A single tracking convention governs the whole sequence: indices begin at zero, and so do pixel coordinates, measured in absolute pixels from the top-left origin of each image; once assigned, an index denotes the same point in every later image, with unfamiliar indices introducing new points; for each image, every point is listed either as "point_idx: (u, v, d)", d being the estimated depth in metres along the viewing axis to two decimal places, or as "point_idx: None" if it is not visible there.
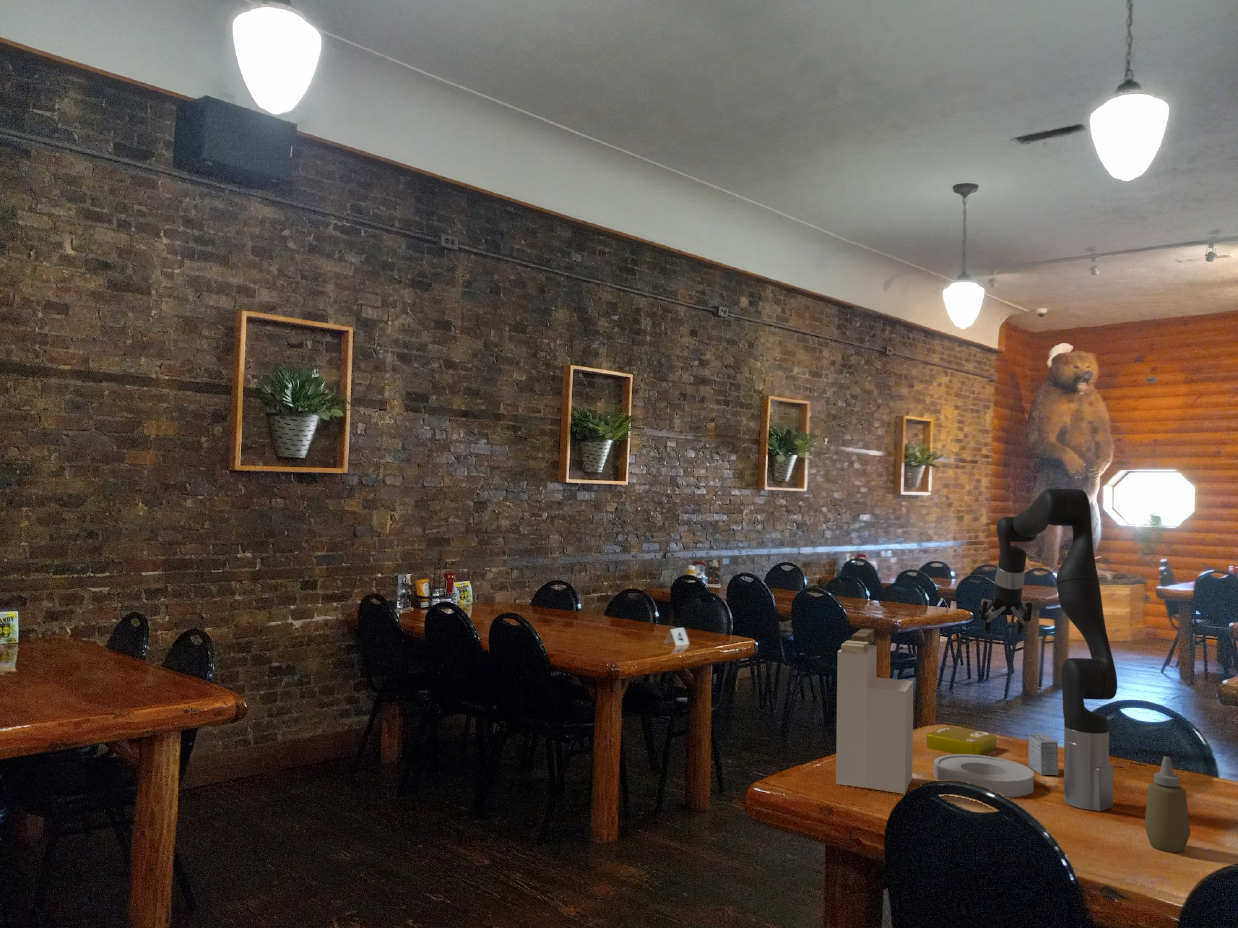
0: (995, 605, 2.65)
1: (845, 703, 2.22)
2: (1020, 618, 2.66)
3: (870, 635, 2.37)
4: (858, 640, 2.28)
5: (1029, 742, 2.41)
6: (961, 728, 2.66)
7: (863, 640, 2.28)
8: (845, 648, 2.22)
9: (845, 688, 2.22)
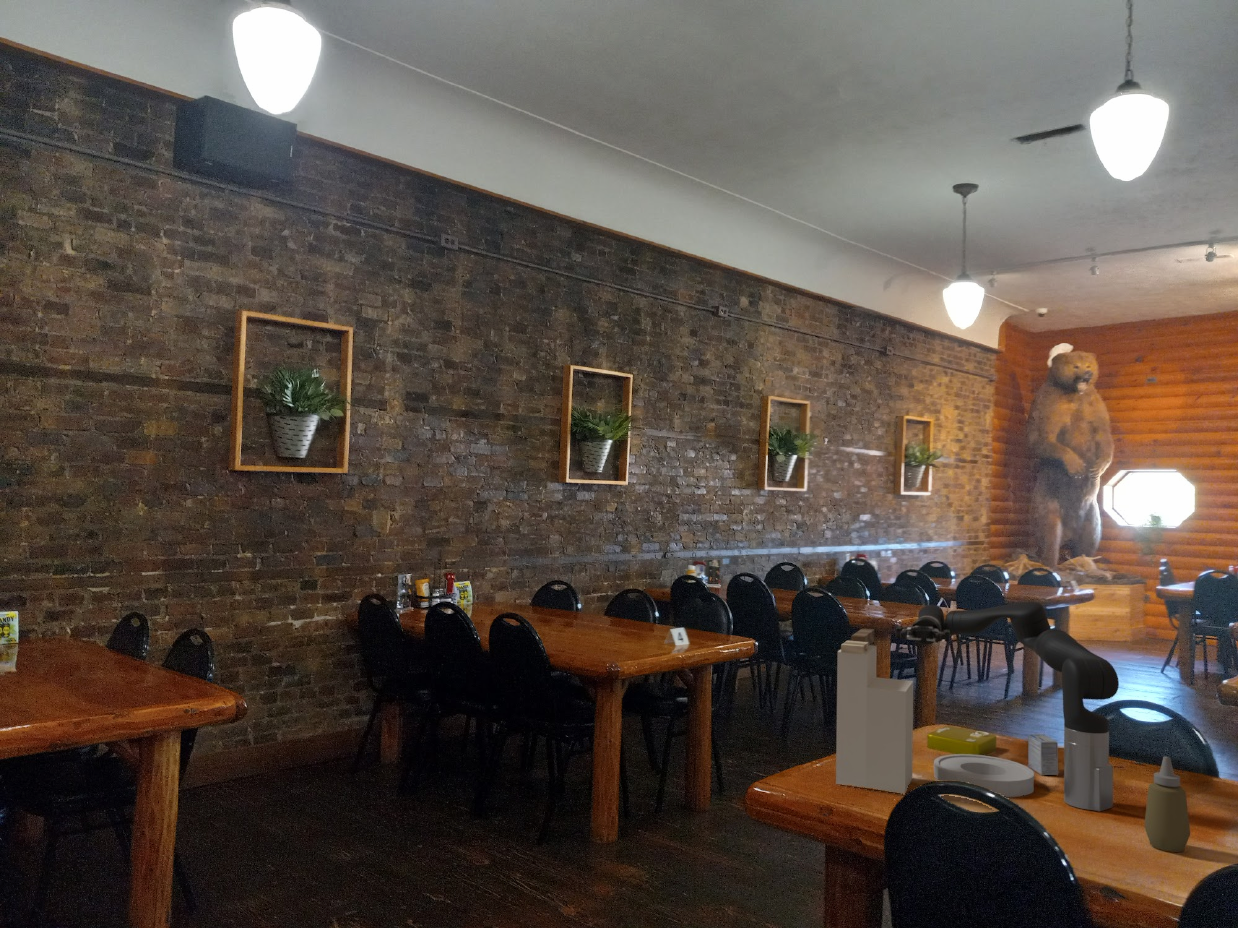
0: None
1: (845, 703, 2.22)
2: (906, 637, 2.56)
3: (870, 635, 2.37)
4: (858, 640, 2.28)
5: (1029, 742, 2.41)
6: (961, 728, 2.66)
7: (863, 640, 2.28)
8: (845, 648, 2.22)
9: (845, 688, 2.22)
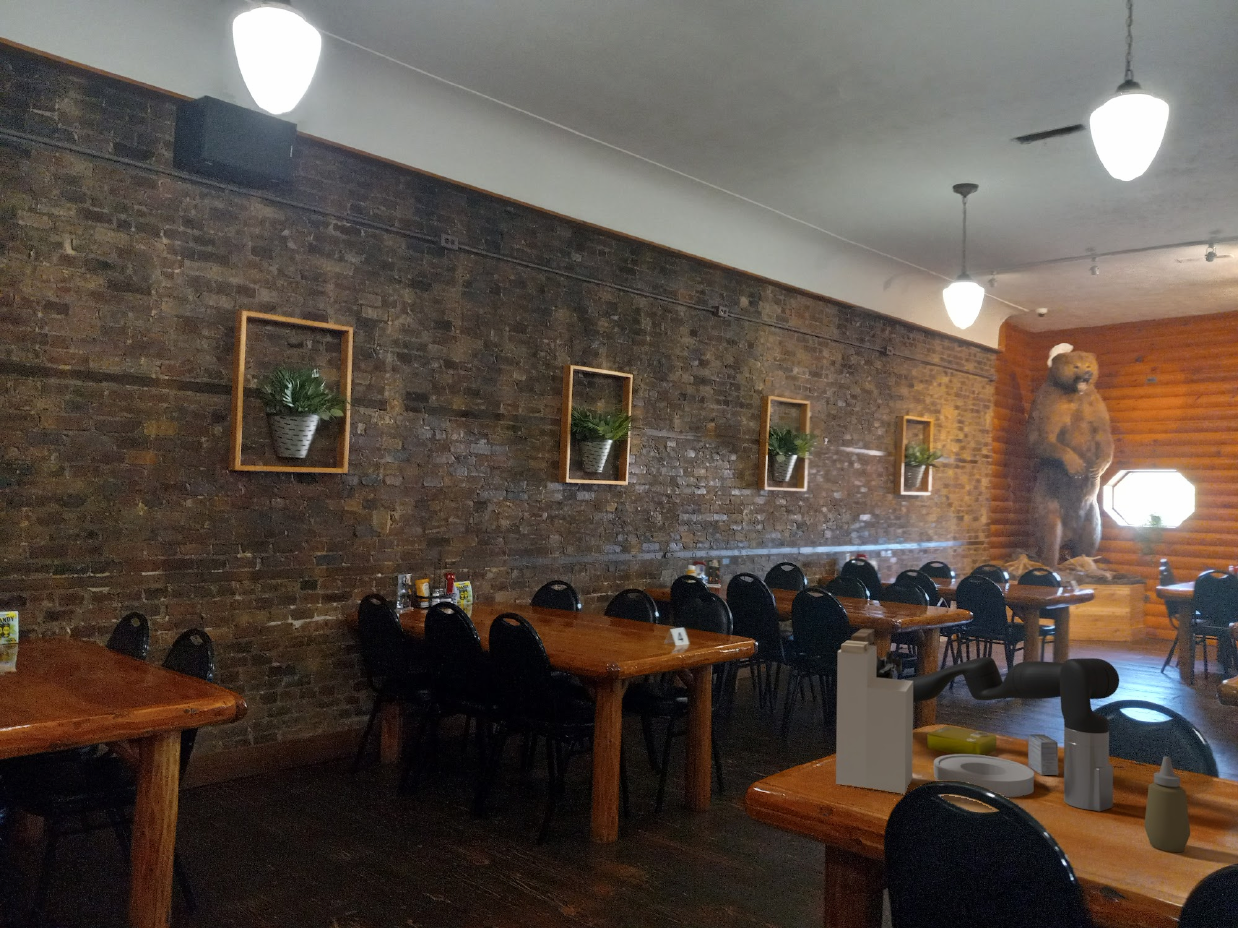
0: (888, 670, 2.55)
1: (845, 703, 2.22)
2: None
3: (870, 635, 2.37)
4: (858, 640, 2.28)
5: (1029, 742, 2.41)
6: (961, 728, 2.66)
7: (863, 640, 2.28)
8: (845, 648, 2.22)
9: (845, 688, 2.22)
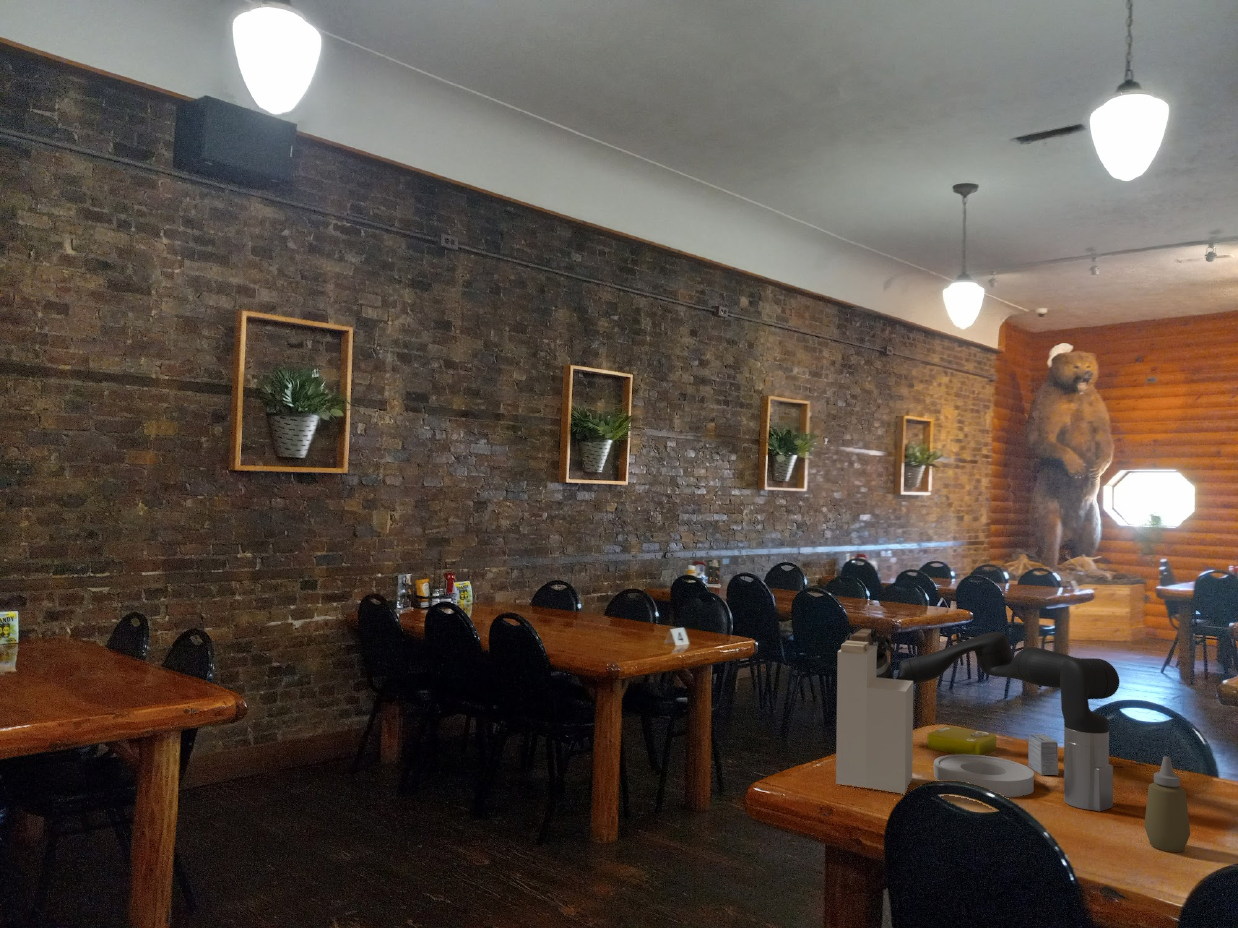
0: (881, 651, 2.44)
1: (845, 703, 2.22)
2: None
3: (870, 635, 2.37)
4: (858, 640, 2.28)
5: (1029, 742, 2.41)
6: (961, 728, 2.66)
7: (863, 640, 2.28)
8: (845, 648, 2.22)
9: (845, 688, 2.22)
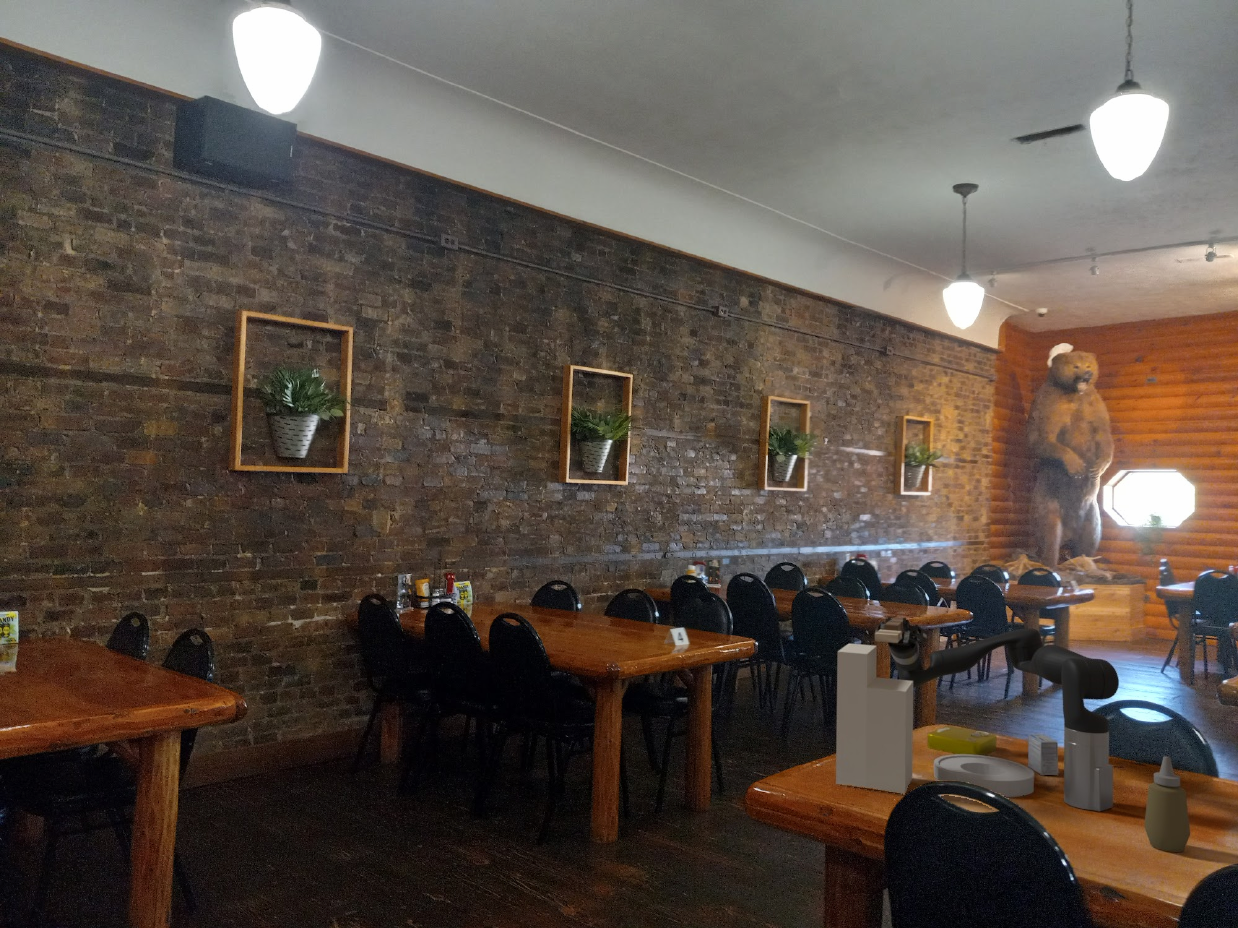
0: (912, 641, 2.41)
1: (845, 703, 2.22)
2: None
3: (902, 624, 2.33)
4: (891, 629, 2.25)
5: (1029, 742, 2.41)
6: (961, 728, 2.66)
7: (896, 629, 2.25)
8: (878, 637, 2.19)
9: (845, 688, 2.22)
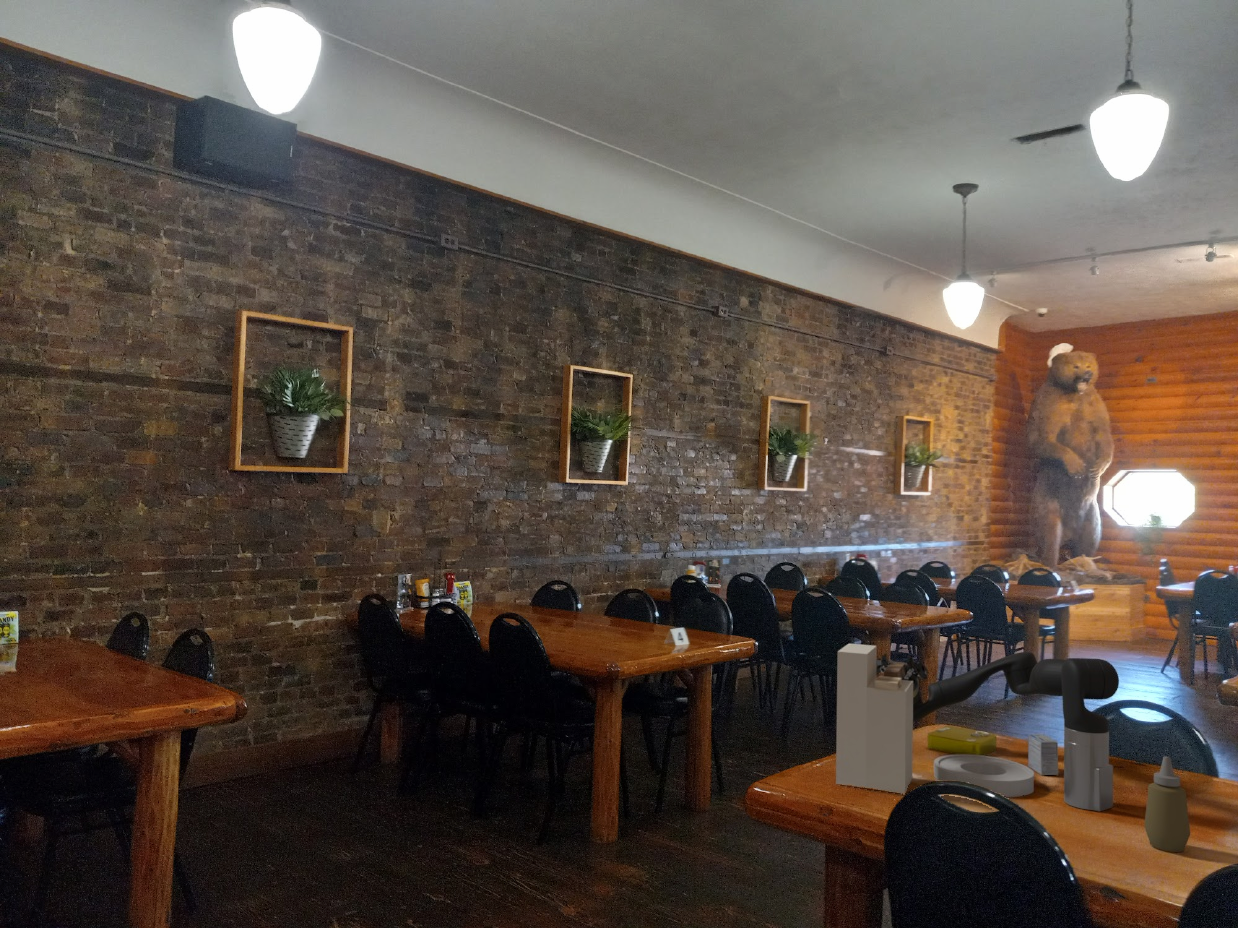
0: (913, 677, 2.41)
1: (845, 703, 2.22)
2: None
3: (902, 669, 2.33)
4: (891, 675, 2.25)
5: (1029, 742, 2.41)
6: (961, 728, 2.66)
7: (896, 675, 2.25)
8: (878, 684, 2.18)
9: (845, 688, 2.22)
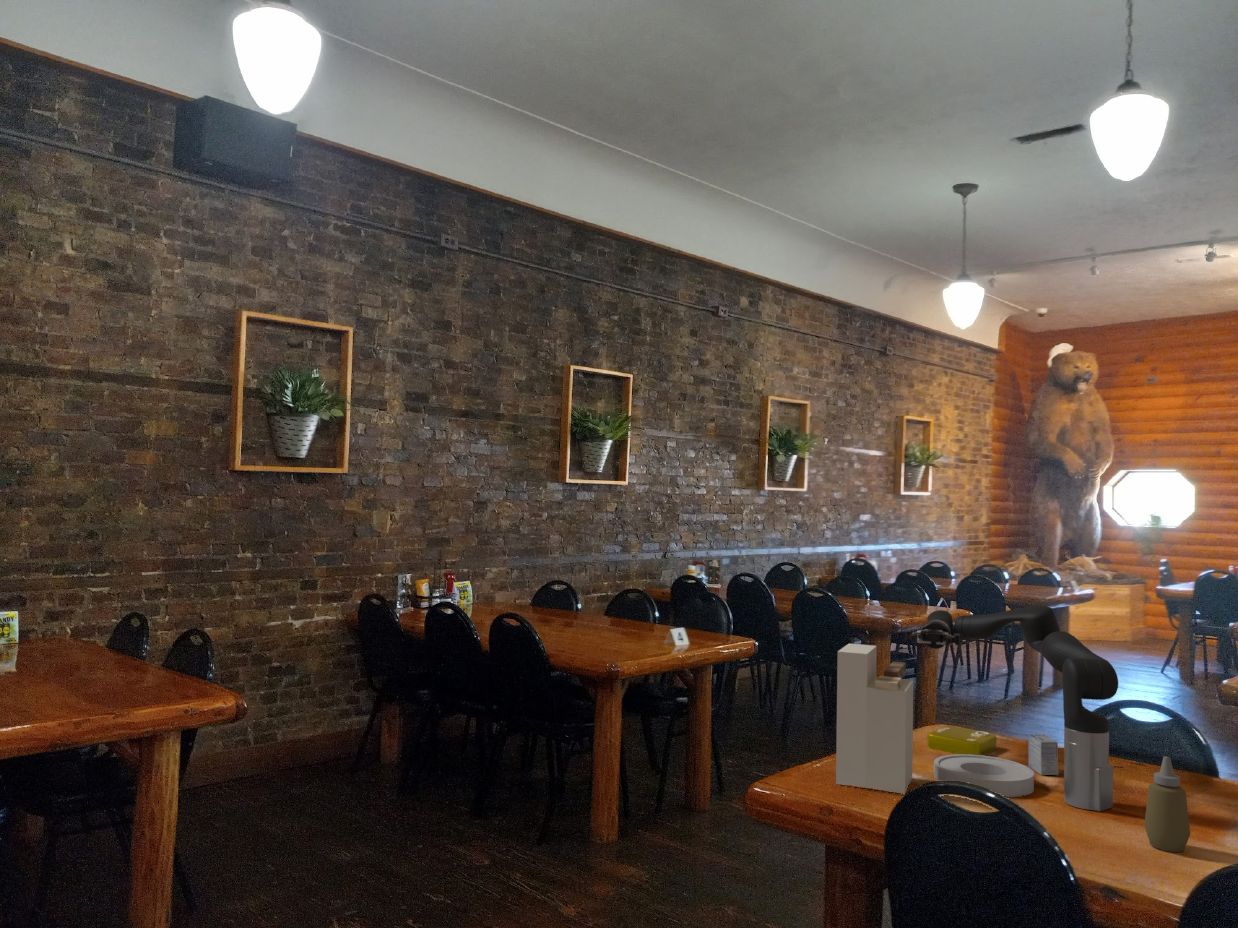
0: None
1: (845, 703, 2.22)
2: (916, 641, 2.55)
3: (902, 669, 2.33)
4: (891, 675, 2.25)
5: (1029, 742, 2.41)
6: (961, 728, 2.66)
7: (896, 675, 2.25)
8: (878, 684, 2.18)
9: (845, 688, 2.22)
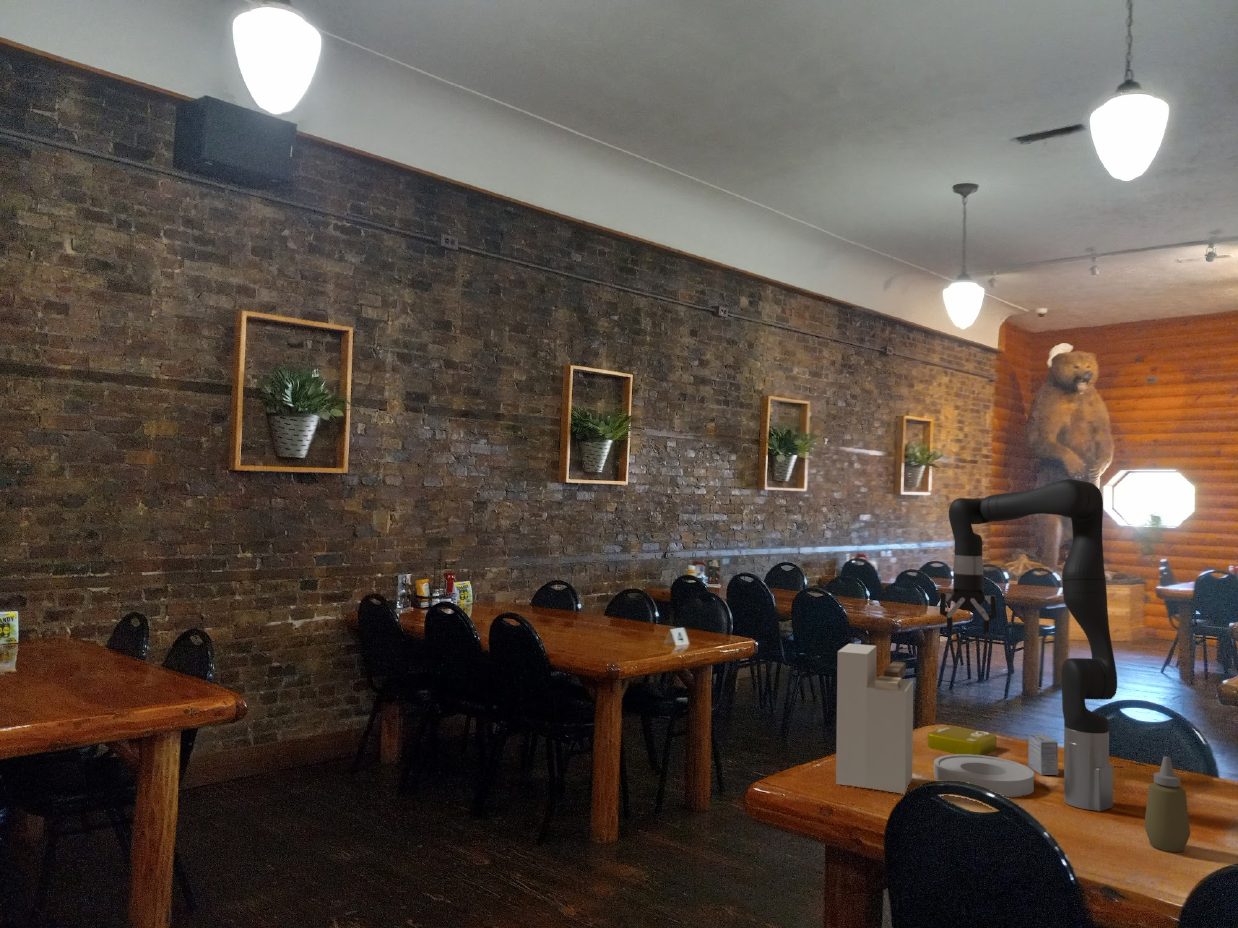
0: None
1: (845, 703, 2.22)
2: None
3: (902, 669, 2.33)
4: (891, 675, 2.25)
5: (1029, 742, 2.41)
6: (961, 728, 2.66)
7: (896, 675, 2.25)
8: (878, 684, 2.18)
9: (845, 688, 2.22)
